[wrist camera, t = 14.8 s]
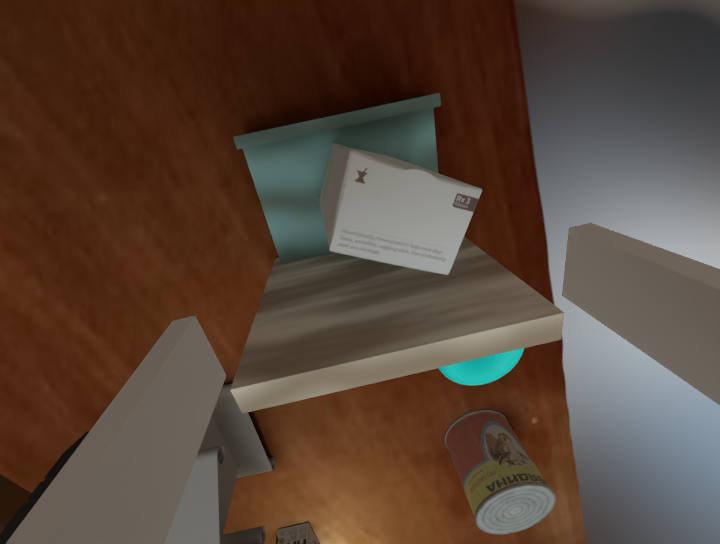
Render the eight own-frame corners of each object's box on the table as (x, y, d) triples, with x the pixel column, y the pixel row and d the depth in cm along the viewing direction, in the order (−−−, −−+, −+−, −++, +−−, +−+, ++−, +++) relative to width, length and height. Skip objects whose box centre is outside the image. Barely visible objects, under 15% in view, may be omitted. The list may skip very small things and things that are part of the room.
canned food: (516, 408, 52) (567, 482, 41) (498, 453, 57) (540, 530, 46) (451, 410, 50) (487, 488, 40) (438, 457, 55) (467, 537, 44)
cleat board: (234, 137, 30) (108, 153, 12) (433, 95, 31) (594, 50, 13) (280, 273, 37) (242, 413, 19) (444, 236, 37) (560, 339, 19)
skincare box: (318, 200, 31) (317, 255, 18) (332, 137, 29) (343, 146, 16) (396, 220, 33) (448, 283, 20) (415, 162, 31) (489, 189, 17)
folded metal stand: (171, 392, 42) (60, 587, 24) (240, 378, 43) (182, 561, 25) (217, 474, 50) (159, 668, 32) (275, 462, 51) (250, 646, 33)
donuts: (549, 329, 32) (498, 398, 36) (499, 285, 41) (462, 343, 45) (469, 303, 30) (422, 381, 33) (434, 262, 39) (400, 326, 42)
